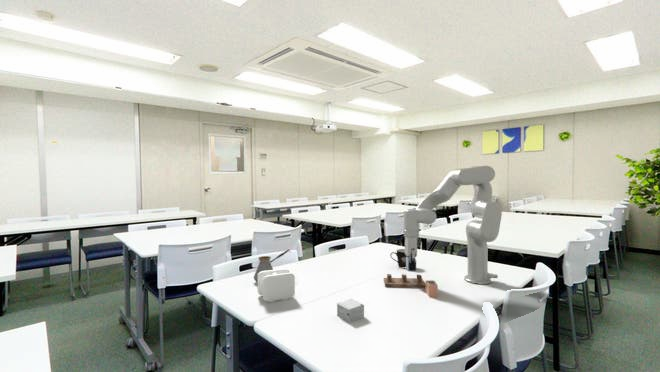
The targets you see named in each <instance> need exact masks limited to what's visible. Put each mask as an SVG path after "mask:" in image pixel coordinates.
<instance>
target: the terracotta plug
mask: <svg viewBox="0 0 660 372" xmlns="http://www.w3.org/2000/svg"><path fill="white" fill-rule="evenodd" d="M425 284H426V288H425V293H426V295H427V296H431V297H430V298H438V296H439V294H438V292H439V290H438V288H439V287H438V284H437V282H436V281H435V280H428V279H427V280H425ZM433 296H434V297H433ZM436 296H437V297H436Z"/></svg>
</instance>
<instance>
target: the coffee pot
mask: <svg viewBox="0 0 660 372" xmlns="http://www.w3.org/2000/svg"><path fill="white" fill-rule="evenodd" d="M287 253H290V254H291V253H292V252H291V249H287V250H284V252H282V253H280V254H279V255H277V256H276V257H275V258H273V259H271V258H272V256H267V255H266V256H264V255H263V256H259V257H258V260H259V263H258V265H257V268H256V271H255V273H254V274H253V280H254V281H255V282H258V273H259V272H261V271H267V270H274V268H273V266H272V264H271V263H273V262H274V261H275V260H277V259H279V258H281V257H282V256H284V255H285V254H287Z"/></svg>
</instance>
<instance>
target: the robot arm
mask: <svg viewBox="0 0 660 372" xmlns="http://www.w3.org/2000/svg"><path fill="white" fill-rule="evenodd" d="M495 176H496V171H495V169H494V168H493V167H492V166H490V165H475V166H470V167H465V168H463V167H462V168H454V169H452V170H450V171H449V172H448V173H447V174H446V176H444V178H443V180H442V181H440V184H439V185H438V186H437V187H436V188H435V189H434V190H433V191H432V192H430V194H428V195H427V196H425V198H424V199H422V200H421V202H420V203H419V204H418V205H417V206H416V209H415V208H406V209H405V210H403V211H404V212H403V237H405V238H404V249H405V254H406V256H407V257H409V259H410V262H409V270H410V271H409V272H413V271H415V270H416V271H417V259H416V257H418V238H419V237H420V224H423V225H431V224H433V223H435V222H436V220H437V214H436V212H435V211H434V209H435V208H437V207H438V206H439V205H441V204H443V203H446V202H448V201H450V200H451V199H452V197H454V195H455V193H456V192H457V191H458V190H459V188H460V187H461V186H472V187H473V189H474V191H473V199H472V205H471V213H472V215H473V216H474V217H475V218H478V219H481V220H476V219H475V220H471V221H468V222H467V224H466V227H465V234H466V240H467V274H466V275H465V276H464V281H466V280H467V281H466V282H468V281H469V282H468V283H471V282H472V284H475V283H478V284H477V285H489V284H491V283H492V279H498V278H499V277H498V276H499V275H498V274H496V273H495V274H494V273H490V272H489V271H488V267H489V266H488V265H489V263H488V262H489V261H488V258H489V257H488V256H489V254H488V253H489V252H488V251H489V249H488V248H489V246H488V243H491V242H494V241H495V240H496V239H497V238H498V237H499V232H500V227H501V221H502V215H503V211H502V208H501V206H500V204H499V202H496V201H492V199H493V187H492V185H491V182H492V181H493V180H494V179H495V178H496V177H495ZM488 283H489V284H488Z"/></svg>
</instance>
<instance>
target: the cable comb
mask: <svg viewBox="0 0 660 372" xmlns="http://www.w3.org/2000/svg"><path fill="white" fill-rule="evenodd" d="M383 284H384V287H385V288H412V287H414V288H415V289H419V288H420V289H426V281H424V279H423V276H422V275H421V274H416V277H409V278H408V275H407V274H405V273H404V274H403V273H402V274H401V277H393V276H392V274H390V273H387V274H386V277H383Z"/></svg>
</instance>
